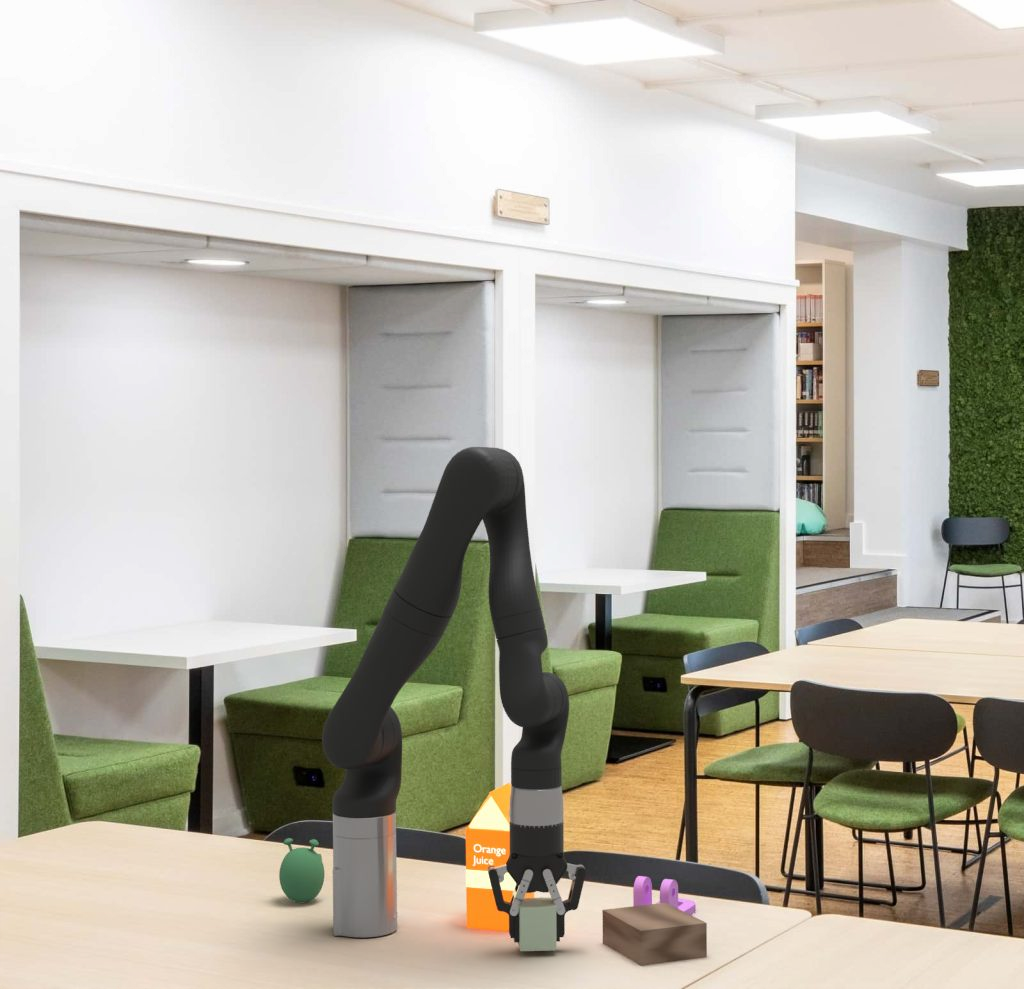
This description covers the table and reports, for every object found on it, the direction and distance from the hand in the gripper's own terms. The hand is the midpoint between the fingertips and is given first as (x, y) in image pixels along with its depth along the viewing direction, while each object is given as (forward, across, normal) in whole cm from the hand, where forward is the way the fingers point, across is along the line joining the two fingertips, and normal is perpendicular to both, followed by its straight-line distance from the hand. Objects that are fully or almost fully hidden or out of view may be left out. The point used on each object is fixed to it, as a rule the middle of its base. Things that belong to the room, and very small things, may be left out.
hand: (536, 940), depth 225 cm
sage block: (+1, 0, 0) cm, 1 cm away
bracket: (+2, +21, +16) cm, 27 cm away
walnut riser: (+2, +16, -1) cm, 16 cm away
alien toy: (+2, -34, +32) cm, 47 cm away
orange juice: (+2, -4, +16) cm, 16 cm away
